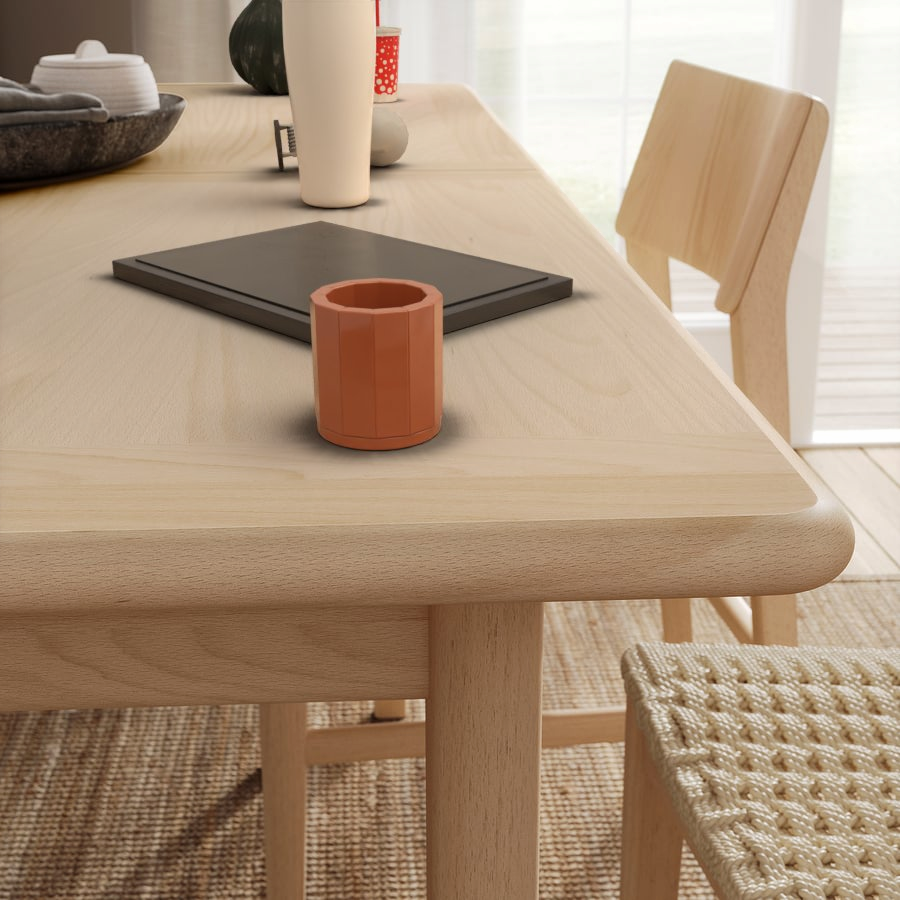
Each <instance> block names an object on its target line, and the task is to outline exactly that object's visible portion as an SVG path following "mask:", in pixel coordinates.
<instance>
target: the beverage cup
mask: <svg viewBox="0 0 900 900" xmlns="http://www.w3.org/2000/svg"><path fill="white" fill-rule="evenodd" d="M374 8H375V24H376V65H375V83H374V100H373V103H376V104H377V103H380V104H381V103H393V102H397V101H398V82H399V81H398V80H399V58H400V36H401V35H402V31H403V29H402V28H401V27H397V26H396V27H394V26H386V25H380V24H381V23H380V0H374Z"/></svg>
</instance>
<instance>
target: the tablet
mask: <svg viewBox="0 0 900 900" xmlns="http://www.w3.org/2000/svg"><path fill="white" fill-rule="evenodd" d="M111 266H112V274H113V277H114V278H117V279H120V280H123V281H125V282H129V283H131V284H135V285H138V286H141V287H144V288H146V289H149V290H152V291H155V292H158V293H161V294H165V295H168V296H170V297H172V298H173V297H174V298H176V299H179V300H182V301H186V302H188V303H191V304H194V305H196V306H200V307H202V308H206V309H209V310H212V311H214V312H218V313H221V314H224V315H226V316H229V317H233V318H236V319H238V320H240V321H241V320H242V321H244V322H247V323H250V324H254V325H255V326H259V327H263V328H265V329H268V330H271V331H274V332H276V333H279V334H283V335H285V336H287V337H288V336H289V337H291V338H294V339H297V340H300V341H303V342H306V343H309V344H312V336H311V315H310V295H311V294H312V293H313V292H315V291H316V290H318V289H319V288H320V287H322V286H325V285H329V284H334V283H338V282H342V281H346V280H347V281H348V280H357V279H372V278H387V279H402V280H413V281H416V282H420V283H424V284H428V285H432V286H434V287H435V288H436V289H437V290H438V291H439V292H440V293H441V294H442V295H443V335H444V334H447V333H451V332H454V331H457V330H460V329H464V328H468V327H471V326H475V325H477V324H480V323H484V322H487V321H491V320H494V319H497V318H501V317H504V316H507V315H511V314H514V313H517V312H521V311H525V310H528V309H531V308H534V307H538V306H541V305H544V304H548V303H552V302H554V301H557V300H561V299H564V298H567V297H571V296H573V293H574V291H573V289H574V279H573V278H572V277H568V276H564V275H560V274H555V273H550V272H547V271H542V270H538V269H533V268H529V267H525V266H520V265H517V264H511V263H507V262H502V261H499V260H494V259H489V258H485V257H482V256H477V255H472V254H468V253H464V252H460V251H455V250H451V249H446V248H443V247H437V246H433V245H428V244H425V243H420V242H415V241H411V240H407V239H402V238H399V237H394V236H389V235H385V234H381V233H376V232H372V231H369V230H368V231H367V230H363V229H360V228H355V227H351V226H346V225H342V224H338V223H333V222H328V221H324V220H317V221H313V222H307V223H303V224H302V223H301V224H297V225H291V226H286V227H281V228H275V229H270V230H266V231H264V230H263V231H260V232H253V233H249V234H243V235H239V236H234V237H229V238H223V239H218V240H213V241H207V242H203V243H196V244H191V245H187V246H181V247H175V248H171V249H165V250H160V251H156V252H150V253H145V254H139V255H134V256H129V257H124V258H119V259H112V261H111Z"/></svg>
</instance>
